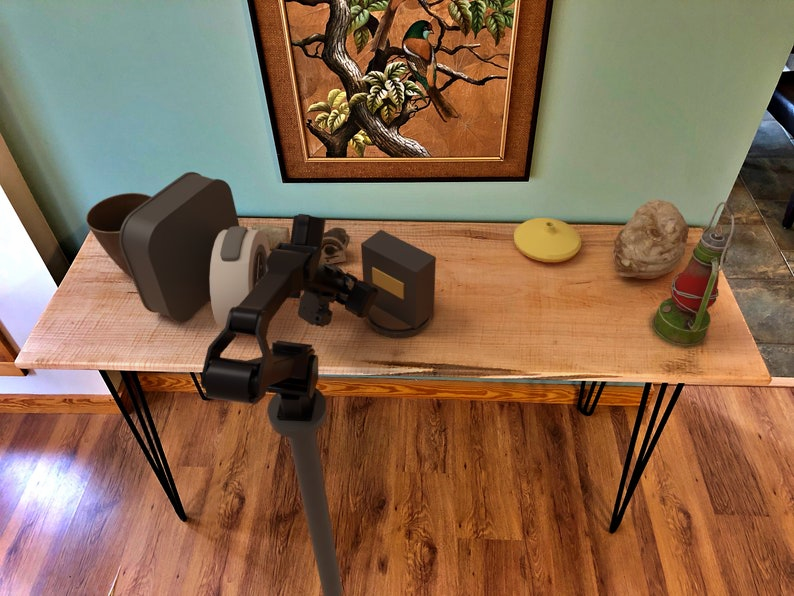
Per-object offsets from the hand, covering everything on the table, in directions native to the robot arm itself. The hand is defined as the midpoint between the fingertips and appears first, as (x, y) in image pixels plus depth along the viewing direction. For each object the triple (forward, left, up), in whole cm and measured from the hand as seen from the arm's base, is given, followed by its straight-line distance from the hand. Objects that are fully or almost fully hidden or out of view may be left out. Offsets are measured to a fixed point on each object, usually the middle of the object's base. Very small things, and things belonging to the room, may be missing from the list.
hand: (355, 289), depth 127 cm
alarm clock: (+1, +23, -8) cm, 25 cm away
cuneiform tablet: (+22, +21, -8) cm, 32 cm away
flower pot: (+14, +51, -8) cm, 54 cm away
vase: (+25, -43, -8) cm, 50 cm away
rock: (+19, -64, -8) cm, 67 cm away
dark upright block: (+1, -9, -6) cm, 11 cm away
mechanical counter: (+22, +7, -8) cm, 25 cm away
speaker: (+7, +36, -8) cm, 38 cm away
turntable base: (+1, -9, -8) cm, 12 cm away
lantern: (-1, -67, -8) cm, 67 cm away
